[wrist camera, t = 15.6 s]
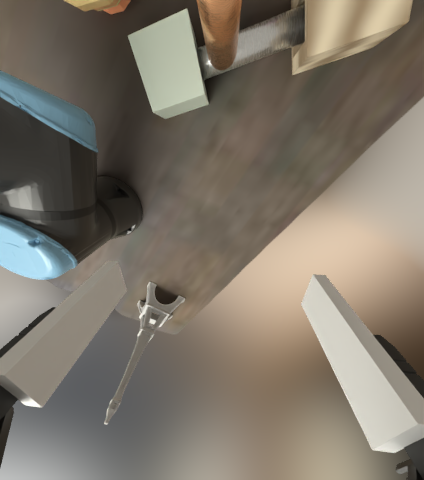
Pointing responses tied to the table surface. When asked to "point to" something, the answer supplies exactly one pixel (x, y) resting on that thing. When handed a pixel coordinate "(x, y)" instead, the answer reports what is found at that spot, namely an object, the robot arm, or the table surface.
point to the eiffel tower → (143, 337)
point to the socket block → (170, 65)
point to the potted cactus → (100, 5)
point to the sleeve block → (345, 28)
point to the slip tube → (243, 36)
